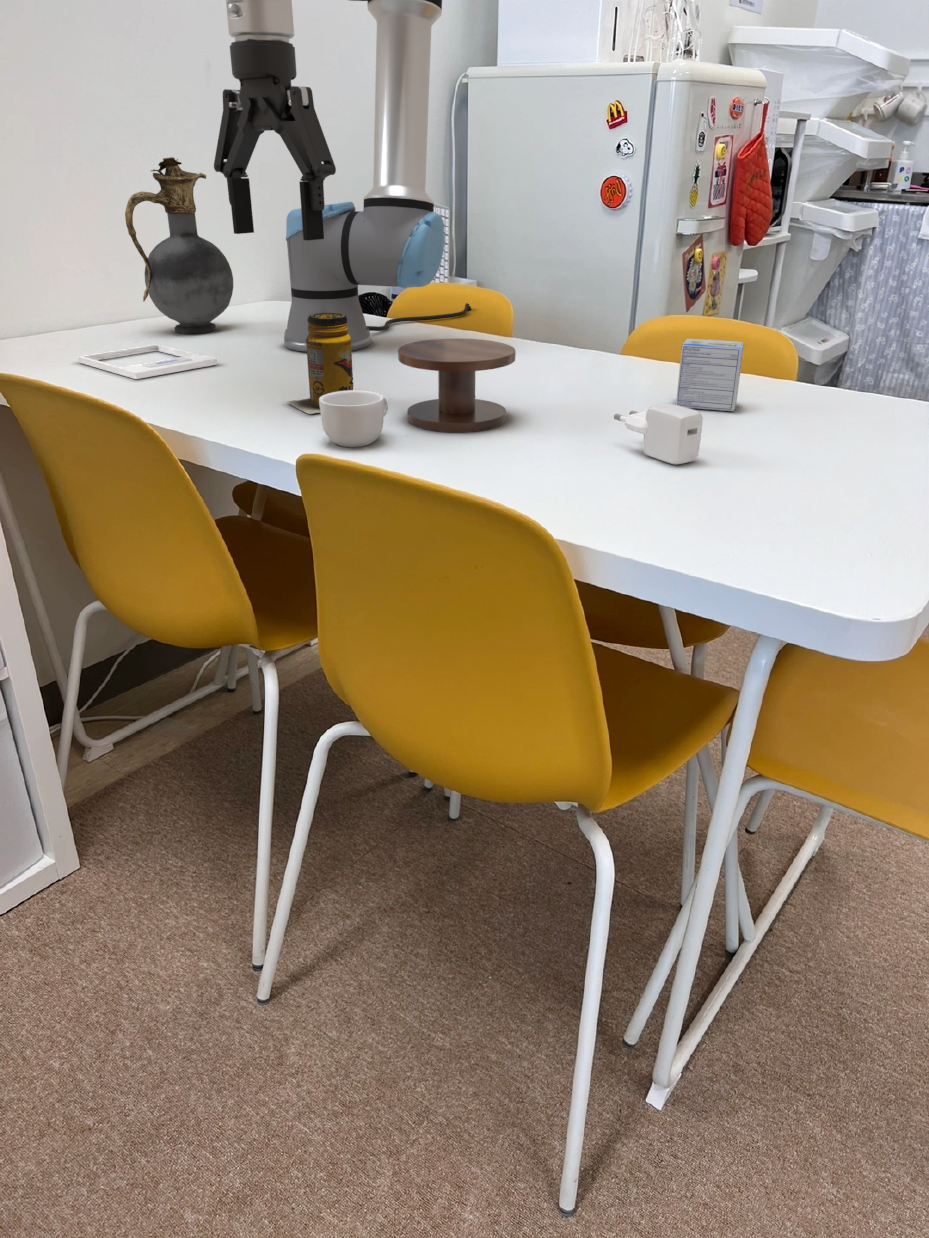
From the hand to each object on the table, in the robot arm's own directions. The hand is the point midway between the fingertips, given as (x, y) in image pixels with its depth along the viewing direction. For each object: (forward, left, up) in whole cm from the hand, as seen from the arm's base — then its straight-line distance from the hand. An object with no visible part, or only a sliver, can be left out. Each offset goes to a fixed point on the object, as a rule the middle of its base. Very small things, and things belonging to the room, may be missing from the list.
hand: (277, 236), depth 119 cm
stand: (-10, +22, -22) cm, 32 cm away
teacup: (+6, +19, -22) cm, 29 cm away
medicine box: (-37, +44, -22) cm, 61 cm away
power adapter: (-13, +49, -22) cm, 55 cm away
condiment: (-4, +3, -22) cm, 22 cm away
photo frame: (-4, -39, -22) cm, 45 cm away
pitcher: (-26, -58, -22) cm, 67 cm away
